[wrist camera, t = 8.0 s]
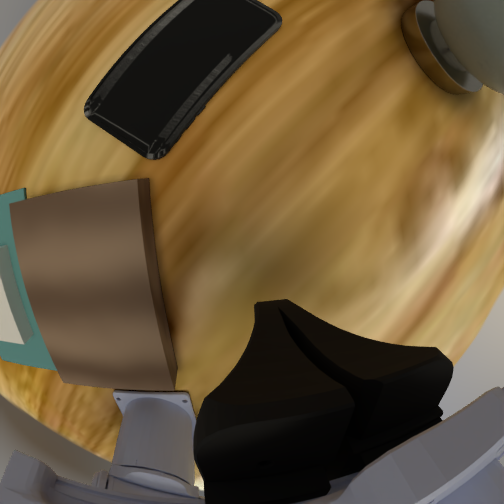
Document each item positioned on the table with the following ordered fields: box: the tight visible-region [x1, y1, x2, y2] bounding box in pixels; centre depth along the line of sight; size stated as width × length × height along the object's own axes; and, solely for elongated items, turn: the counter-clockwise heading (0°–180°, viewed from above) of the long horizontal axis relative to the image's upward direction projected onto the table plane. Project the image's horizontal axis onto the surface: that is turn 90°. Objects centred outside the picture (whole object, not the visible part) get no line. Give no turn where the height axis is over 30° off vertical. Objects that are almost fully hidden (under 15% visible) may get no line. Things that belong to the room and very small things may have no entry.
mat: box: [0, 188, 57, 371], centre depth 17 cm, size 18×12×1 cm, turn 2°
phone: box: [84, 0, 282, 160], centre depth 15 cm, size 8×1×15 cm
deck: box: [9, 178, 178, 391], centre depth 17 cm, size 16×11×3 cm
